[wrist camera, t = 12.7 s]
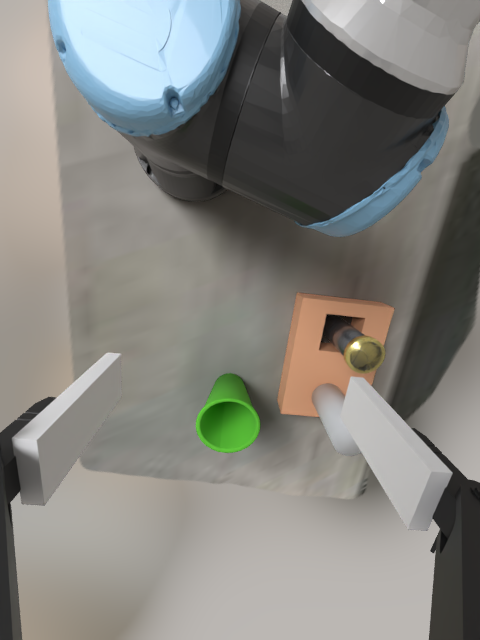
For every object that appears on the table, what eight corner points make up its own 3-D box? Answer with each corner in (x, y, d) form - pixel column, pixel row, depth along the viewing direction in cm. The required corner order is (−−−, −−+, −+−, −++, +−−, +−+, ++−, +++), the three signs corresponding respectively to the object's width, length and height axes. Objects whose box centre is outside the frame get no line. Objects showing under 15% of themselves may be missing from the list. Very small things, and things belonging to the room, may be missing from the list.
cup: (261, 370, 47) (269, 408, 36) (245, 412, 49) (248, 459, 39) (212, 356, 46) (206, 391, 35) (198, 400, 48) (188, 444, 38)
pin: (321, 310, 44) (351, 336, 33) (349, 314, 44) (389, 340, 33) (315, 338, 45) (342, 371, 34) (342, 341, 46) (379, 375, 34)
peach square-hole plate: (296, 292, 43) (325, 316, 30) (380, 302, 44) (445, 330, 30) (277, 399, 49) (293, 460, 35) (351, 406, 50) (395, 468, 36)
